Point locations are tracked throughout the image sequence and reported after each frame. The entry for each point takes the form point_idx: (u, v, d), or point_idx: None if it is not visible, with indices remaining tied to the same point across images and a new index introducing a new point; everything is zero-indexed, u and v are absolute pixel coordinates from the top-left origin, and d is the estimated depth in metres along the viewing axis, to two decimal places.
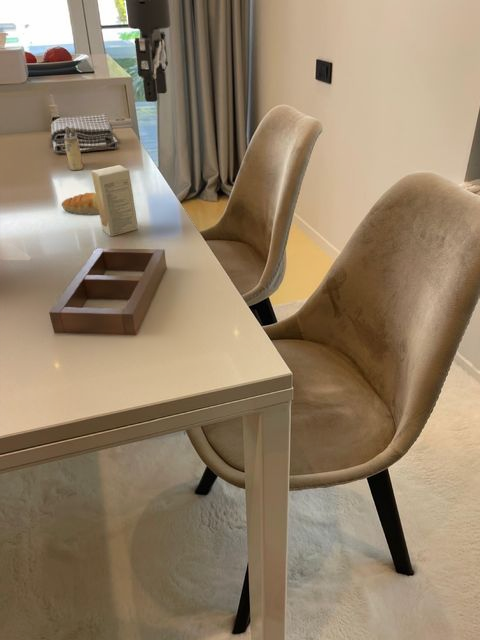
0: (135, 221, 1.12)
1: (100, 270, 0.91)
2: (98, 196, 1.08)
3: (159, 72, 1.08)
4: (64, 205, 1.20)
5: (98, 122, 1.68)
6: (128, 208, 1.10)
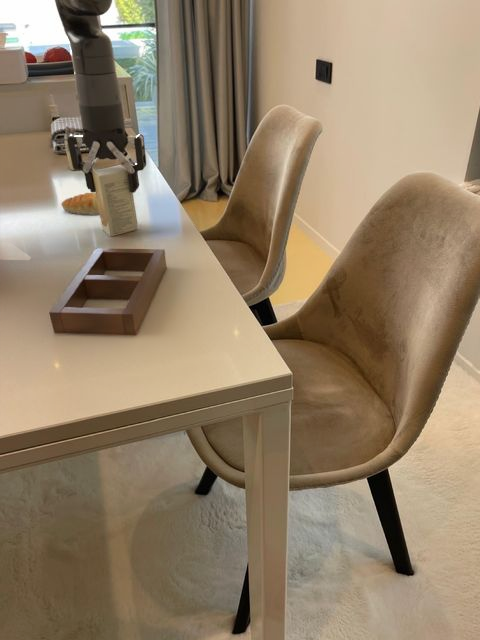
0: (135, 221, 1.12)
1: (100, 270, 0.91)
2: (98, 196, 1.08)
3: None
4: (64, 205, 1.20)
5: None
6: (128, 208, 1.10)
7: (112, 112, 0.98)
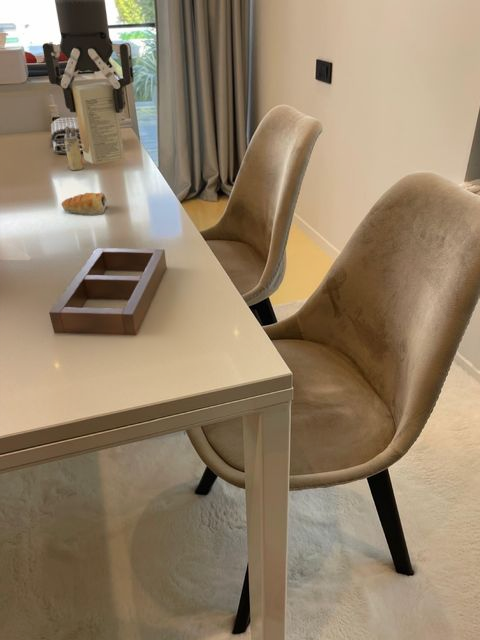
0: (121, 148, 0.99)
1: (100, 270, 0.91)
2: (79, 116, 0.95)
3: None
4: (64, 205, 1.20)
5: None
6: (113, 132, 0.97)
7: (94, 10, 0.85)
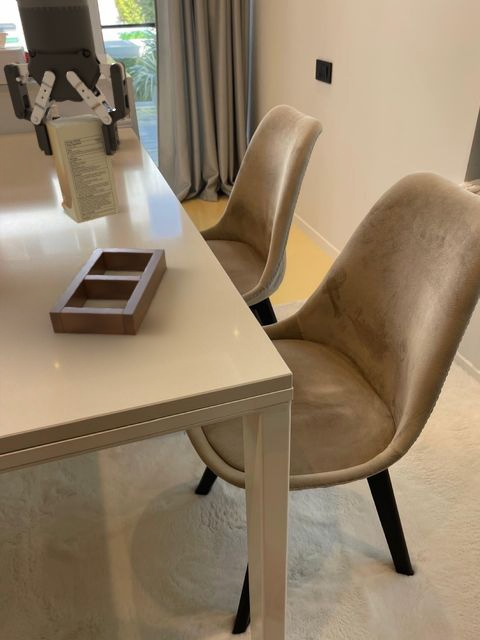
0: (115, 201, 0.74)
1: (100, 270, 0.91)
2: (57, 161, 0.70)
3: None
4: None
5: None
6: (104, 180, 0.72)
7: (73, 19, 0.61)
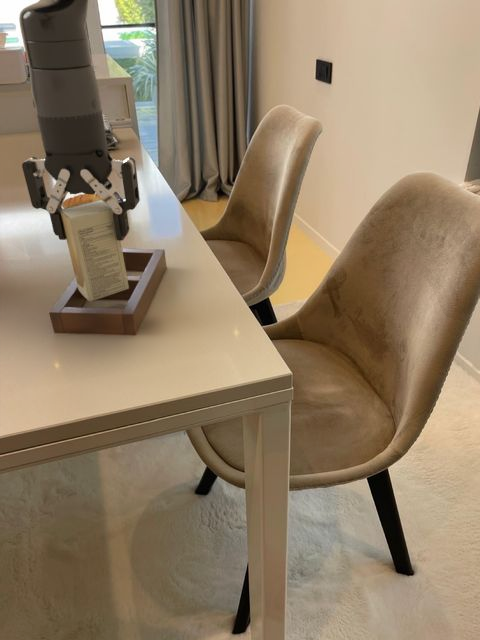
0: (124, 278, 0.79)
1: None
2: (70, 246, 0.75)
3: None
4: (64, 205, 1.20)
5: None
6: (114, 261, 0.77)
7: (87, 125, 0.65)
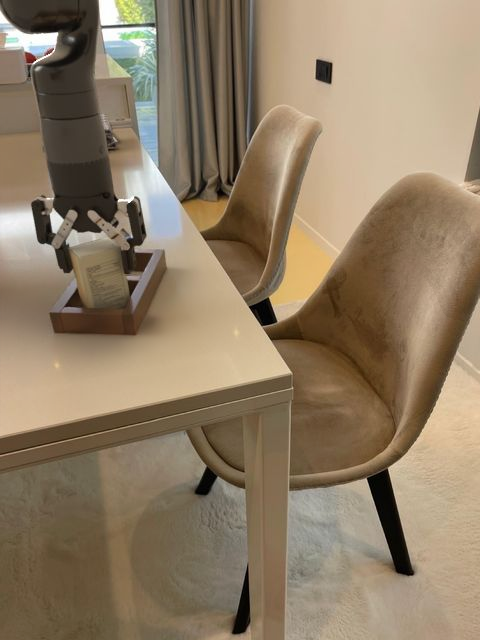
0: None
1: None
2: (78, 281, 0.78)
3: None
4: None
5: None
6: (120, 295, 0.80)
7: (95, 170, 0.68)
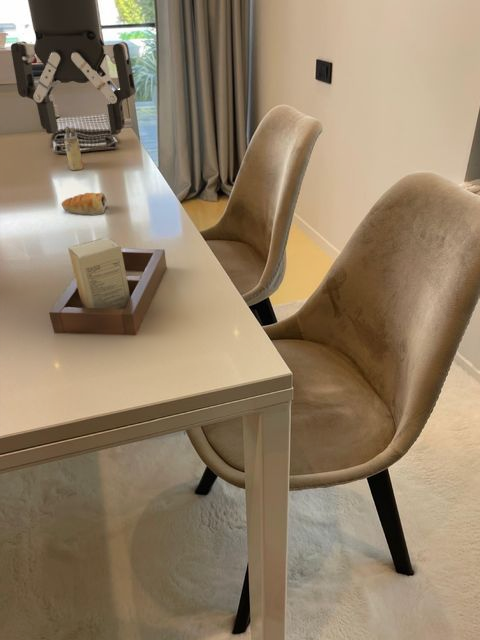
0: None
1: None
2: (78, 281, 0.78)
3: None
4: (64, 205, 1.20)
5: (98, 122, 1.68)
6: (120, 295, 0.80)
7: (78, 1, 0.63)
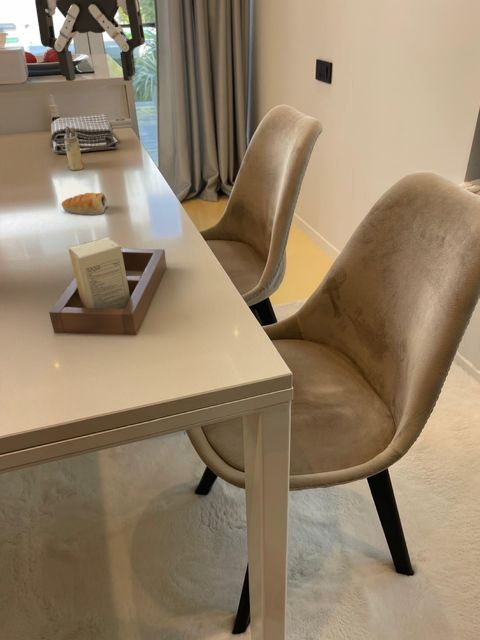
0: None
1: None
2: (78, 281, 0.78)
3: None
4: (64, 205, 1.20)
5: (98, 122, 1.68)
6: (120, 295, 0.80)
7: None
